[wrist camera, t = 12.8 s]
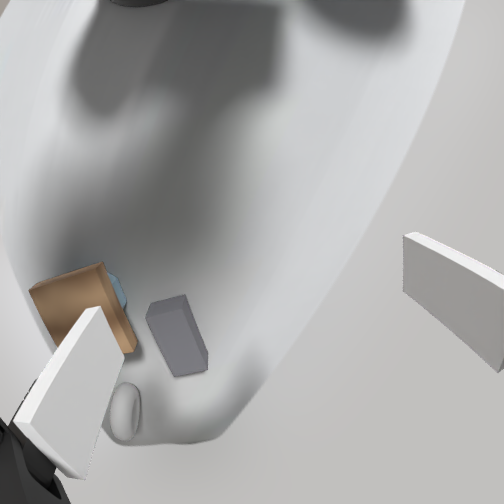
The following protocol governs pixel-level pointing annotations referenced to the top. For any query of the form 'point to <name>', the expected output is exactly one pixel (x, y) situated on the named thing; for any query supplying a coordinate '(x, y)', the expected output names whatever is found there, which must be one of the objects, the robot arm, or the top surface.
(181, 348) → the block
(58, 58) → the top surface
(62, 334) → the board
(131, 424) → the donut
